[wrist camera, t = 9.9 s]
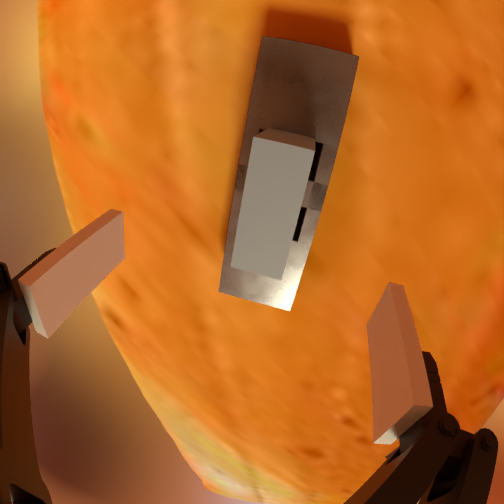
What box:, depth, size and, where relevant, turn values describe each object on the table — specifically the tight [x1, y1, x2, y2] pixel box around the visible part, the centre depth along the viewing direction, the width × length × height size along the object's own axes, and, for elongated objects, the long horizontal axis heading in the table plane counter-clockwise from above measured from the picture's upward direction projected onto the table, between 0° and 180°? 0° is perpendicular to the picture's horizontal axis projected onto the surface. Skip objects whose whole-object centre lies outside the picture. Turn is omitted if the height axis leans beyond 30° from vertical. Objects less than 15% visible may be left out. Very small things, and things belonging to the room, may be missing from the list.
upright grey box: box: [231, 128, 316, 280], centre depth 25 cm, size 10×4×10 cm, turn 170°
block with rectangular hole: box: [219, 36, 359, 311], centre depth 28 cm, size 26×8×4 cm, turn 170°
